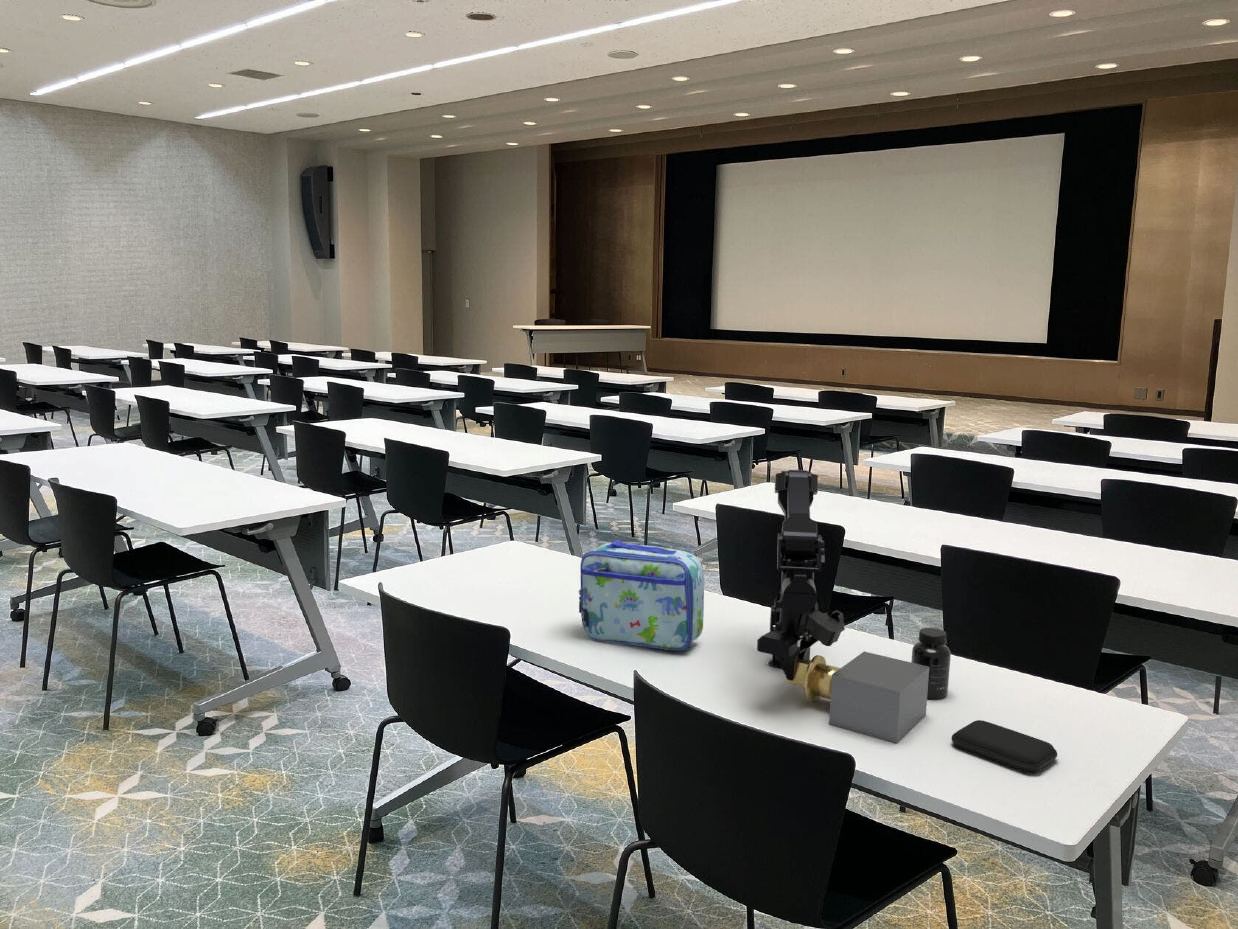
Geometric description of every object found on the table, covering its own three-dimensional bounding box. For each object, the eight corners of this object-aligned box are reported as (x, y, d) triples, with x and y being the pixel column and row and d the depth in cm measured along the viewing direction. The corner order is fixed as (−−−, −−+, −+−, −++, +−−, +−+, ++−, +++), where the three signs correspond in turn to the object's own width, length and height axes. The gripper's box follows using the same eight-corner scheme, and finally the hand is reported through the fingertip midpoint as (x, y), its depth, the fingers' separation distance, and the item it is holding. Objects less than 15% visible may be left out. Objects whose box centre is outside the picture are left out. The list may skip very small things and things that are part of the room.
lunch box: (573, 639, 208) (573, 544, 205) (595, 624, 218) (596, 532, 214) (688, 660, 198) (690, 559, 194) (706, 643, 207) (709, 547, 204)
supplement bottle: (901, 688, 185) (905, 627, 183) (931, 683, 187) (936, 623, 185) (924, 702, 179) (929, 639, 176) (955, 697, 181) (960, 635, 179)
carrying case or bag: (1064, 759, 158) (977, 729, 169) (1065, 741, 158) (979, 712, 168) (1034, 781, 151) (946, 748, 162) (1035, 762, 150) (947, 730, 161)
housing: (829, 724, 169) (831, 674, 167) (861, 698, 180) (864, 651, 179) (896, 743, 162) (900, 692, 160) (925, 715, 173) (929, 666, 172)
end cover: (777, 700, 178) (779, 656, 176) (797, 686, 184) (799, 643, 183) (831, 716, 172) (834, 670, 170) (851, 700, 178) (853, 656, 177)
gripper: (816, 618, 165) (812, 706, 168) (859, 592, 180) (855, 673, 183) (757, 605, 172) (754, 690, 174) (803, 581, 187) (800, 659, 189)
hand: (793, 678), depth 180 cm, fingers closed on end cover, 2 cm apart
